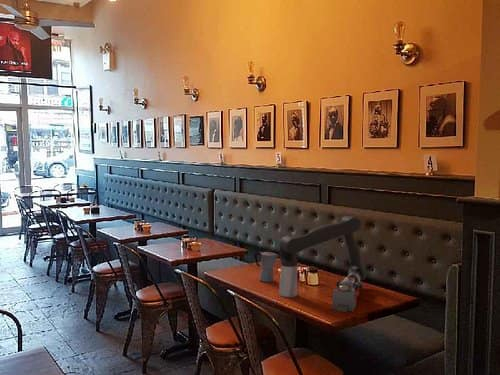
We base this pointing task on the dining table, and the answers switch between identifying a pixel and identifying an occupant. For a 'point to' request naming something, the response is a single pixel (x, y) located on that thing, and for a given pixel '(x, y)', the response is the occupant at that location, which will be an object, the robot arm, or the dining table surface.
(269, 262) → the moka pot
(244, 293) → the dining table surface
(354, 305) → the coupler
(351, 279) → the block
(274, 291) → the dining table surface
